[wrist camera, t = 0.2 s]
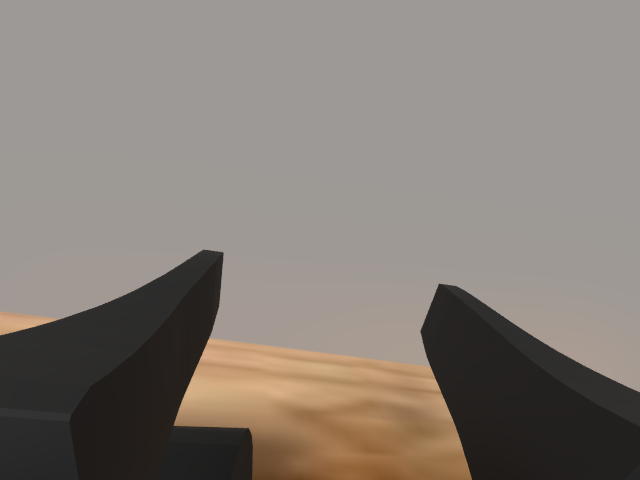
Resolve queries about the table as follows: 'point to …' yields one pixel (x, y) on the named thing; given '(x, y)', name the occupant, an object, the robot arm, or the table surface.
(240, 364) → the table surface
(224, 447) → the black and grey cylinder
